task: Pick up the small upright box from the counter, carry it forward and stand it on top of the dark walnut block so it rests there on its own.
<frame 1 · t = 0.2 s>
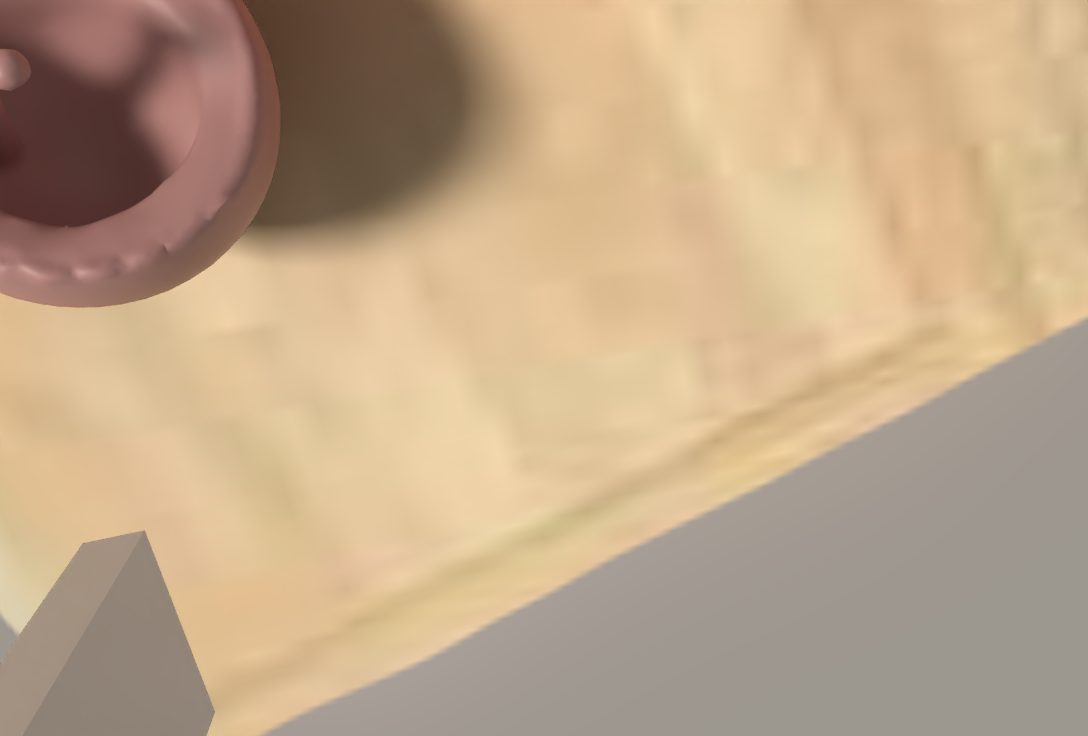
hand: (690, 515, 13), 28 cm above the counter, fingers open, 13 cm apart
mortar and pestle: (138, 90, 37), on the counter
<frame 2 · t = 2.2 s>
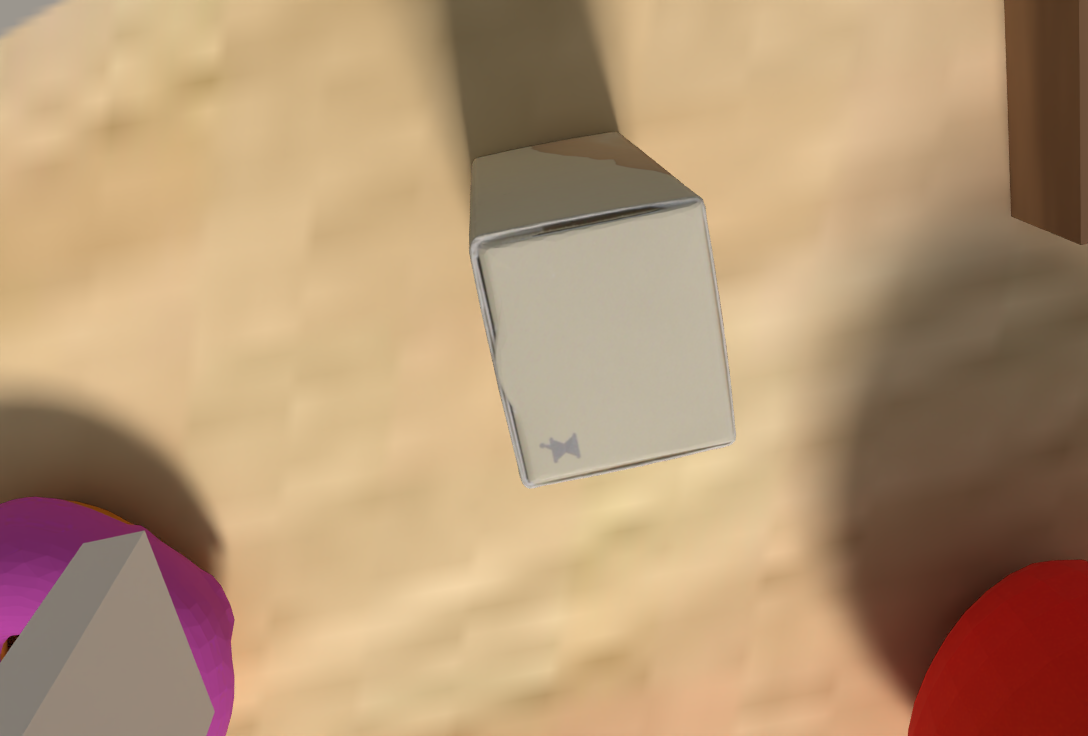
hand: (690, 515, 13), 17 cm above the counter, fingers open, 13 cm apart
tomato: (996, 655, 35), on the counter
box: (557, 225, 29), on the counter
donut: (93, 624, 33), on the counter
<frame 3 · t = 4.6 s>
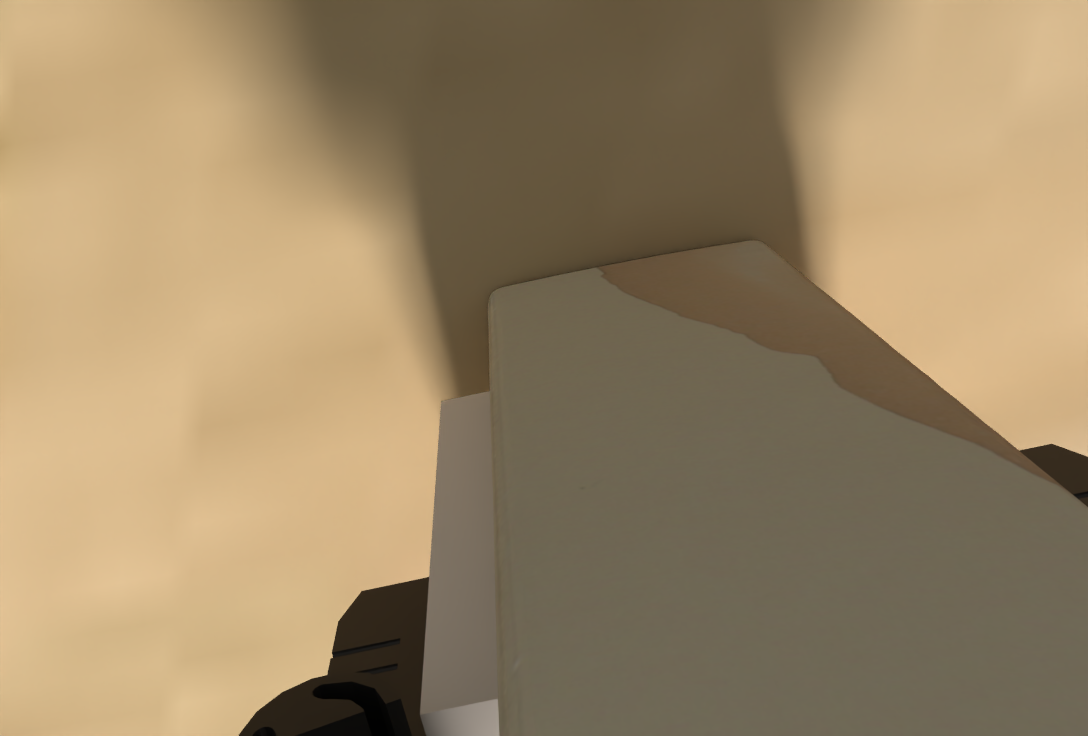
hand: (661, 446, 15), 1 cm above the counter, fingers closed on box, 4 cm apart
box: (642, 401, 16), on the counter, touching gripper
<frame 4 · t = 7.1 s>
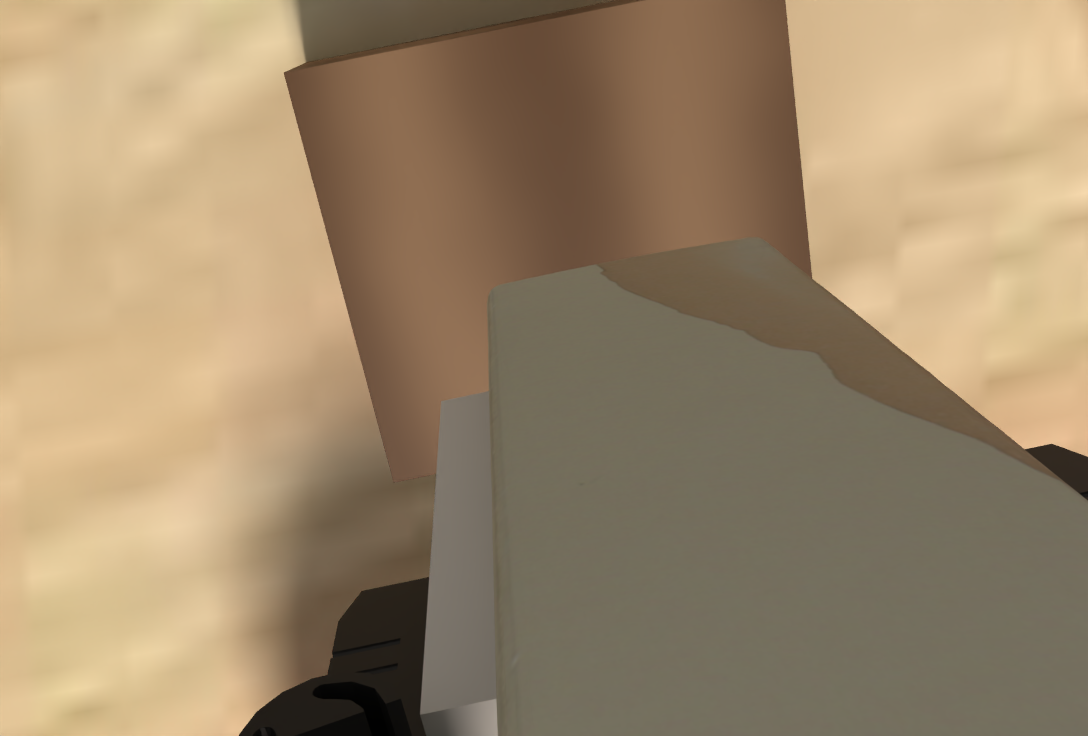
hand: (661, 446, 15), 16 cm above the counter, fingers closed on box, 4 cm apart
box: (642, 398, 16), point 14 cm above the counter, touching gripper
walnut block: (560, 214, 30), on the counter
when the fingers open (6 cm above the counter, at t = 9.7 s): box stays where it is, point 3 cm above the counter.
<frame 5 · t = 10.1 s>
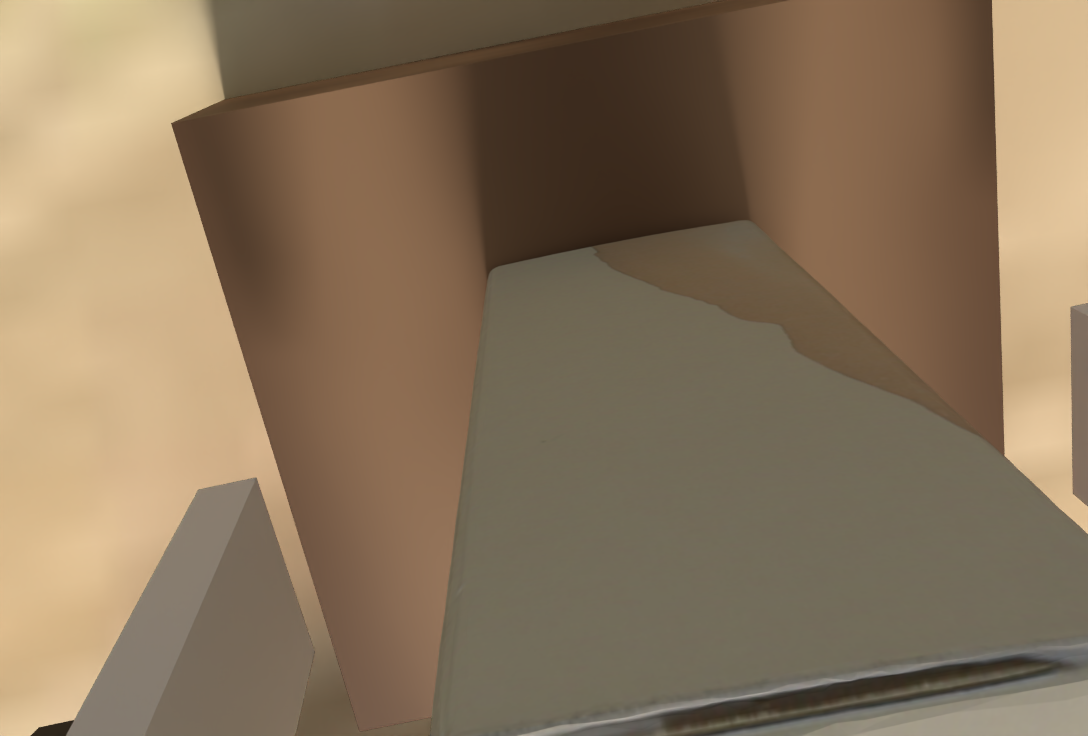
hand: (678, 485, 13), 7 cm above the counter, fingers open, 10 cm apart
box: (638, 377, 17), point 3 cm above the counter
walnut block: (607, 317, 20), on the counter
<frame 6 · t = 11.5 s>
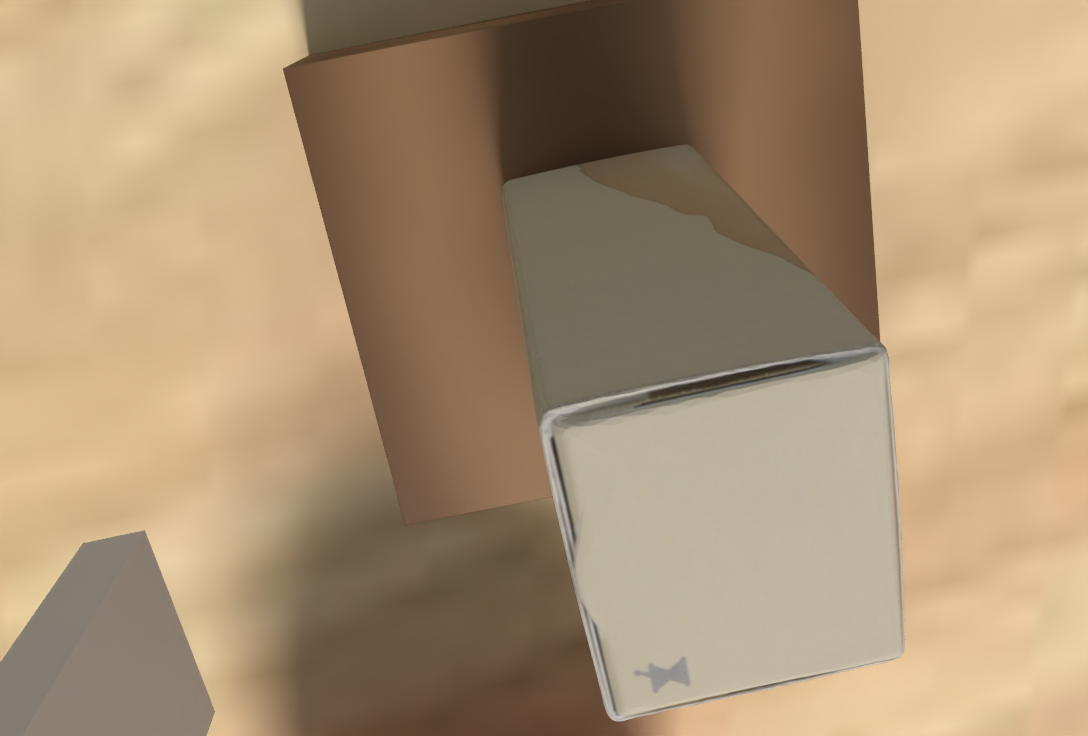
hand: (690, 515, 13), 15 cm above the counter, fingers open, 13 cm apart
box: (610, 259, 23), point 3 cm above the counter, touching walnut block
walnut block: (591, 225, 27), on the counter, touching box
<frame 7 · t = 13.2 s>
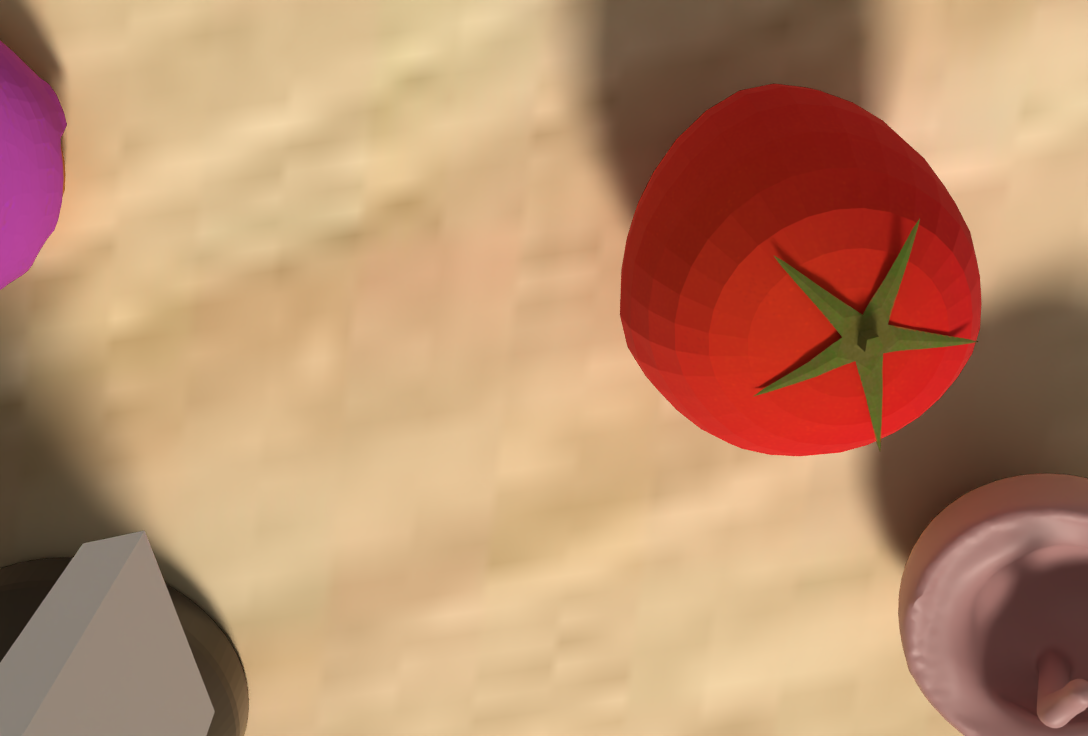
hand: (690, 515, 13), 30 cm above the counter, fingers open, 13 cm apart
tomato: (739, 226, 42), on the counter
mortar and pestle: (986, 541, 48), on the counter
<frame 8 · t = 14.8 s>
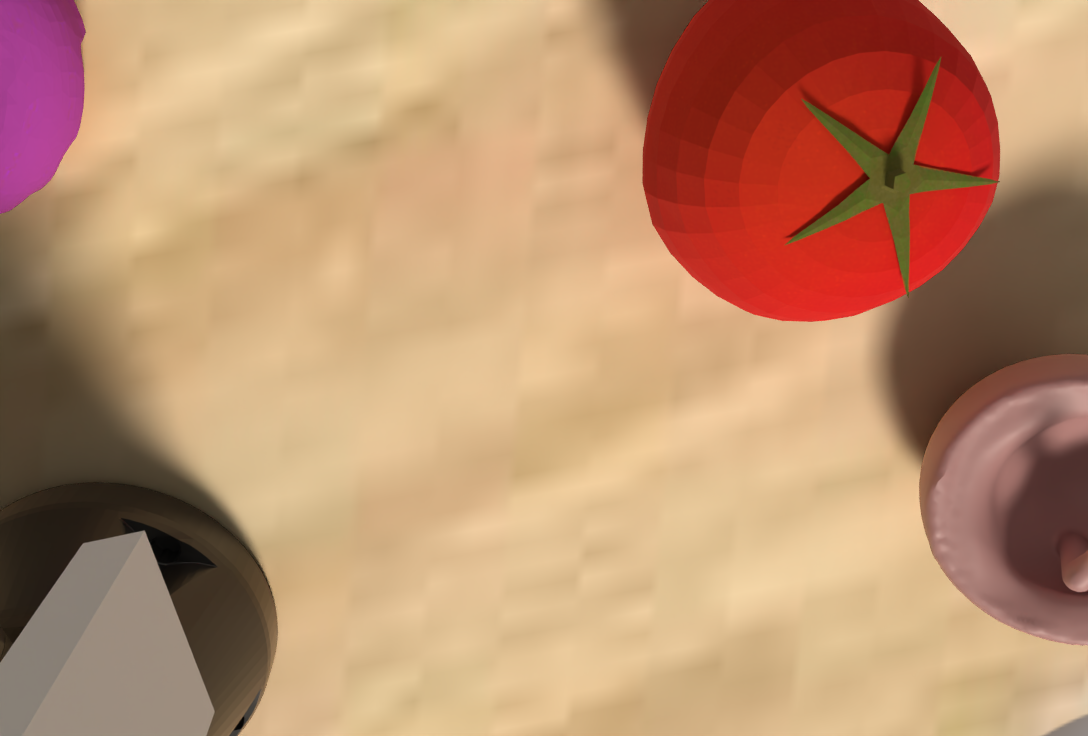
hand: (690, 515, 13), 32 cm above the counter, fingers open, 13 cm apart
tomato: (750, 122, 43), on the counter
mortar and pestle: (1000, 436, 49), on the counter
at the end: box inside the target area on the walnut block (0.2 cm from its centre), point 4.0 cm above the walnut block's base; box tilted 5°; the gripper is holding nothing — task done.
